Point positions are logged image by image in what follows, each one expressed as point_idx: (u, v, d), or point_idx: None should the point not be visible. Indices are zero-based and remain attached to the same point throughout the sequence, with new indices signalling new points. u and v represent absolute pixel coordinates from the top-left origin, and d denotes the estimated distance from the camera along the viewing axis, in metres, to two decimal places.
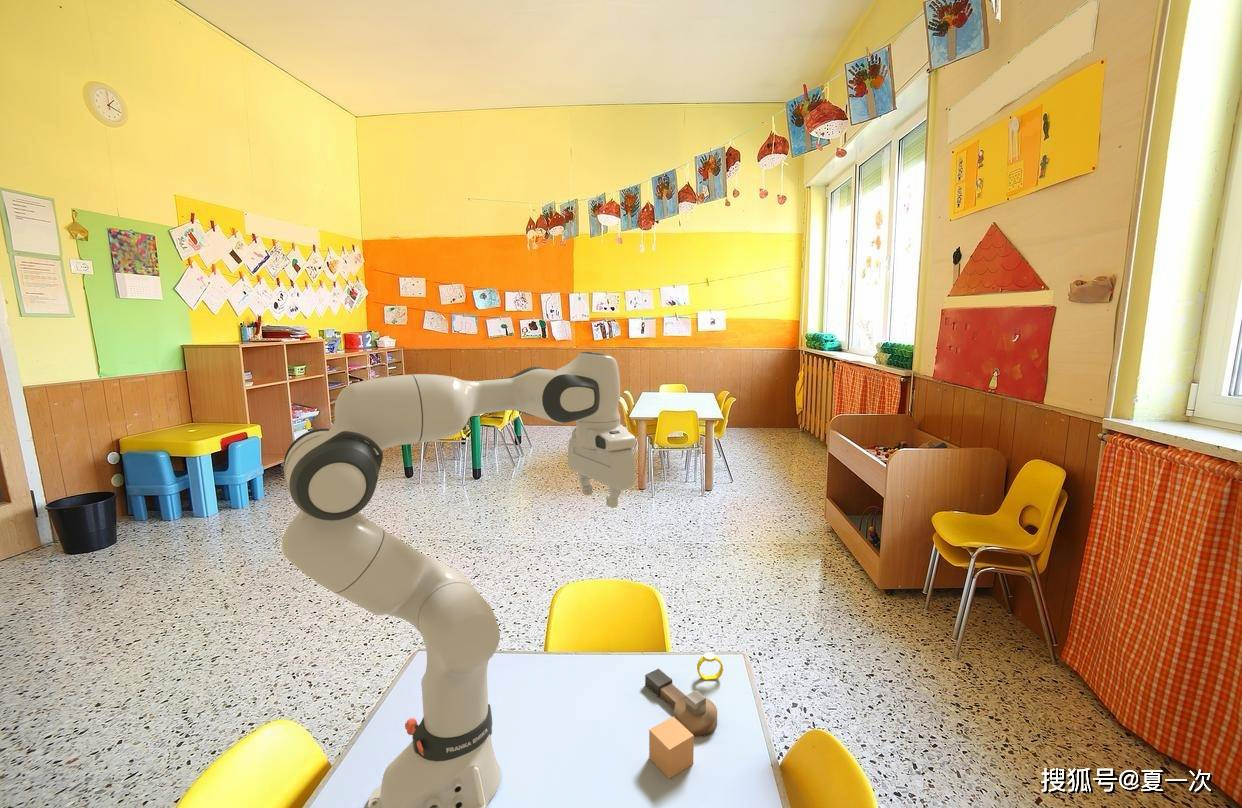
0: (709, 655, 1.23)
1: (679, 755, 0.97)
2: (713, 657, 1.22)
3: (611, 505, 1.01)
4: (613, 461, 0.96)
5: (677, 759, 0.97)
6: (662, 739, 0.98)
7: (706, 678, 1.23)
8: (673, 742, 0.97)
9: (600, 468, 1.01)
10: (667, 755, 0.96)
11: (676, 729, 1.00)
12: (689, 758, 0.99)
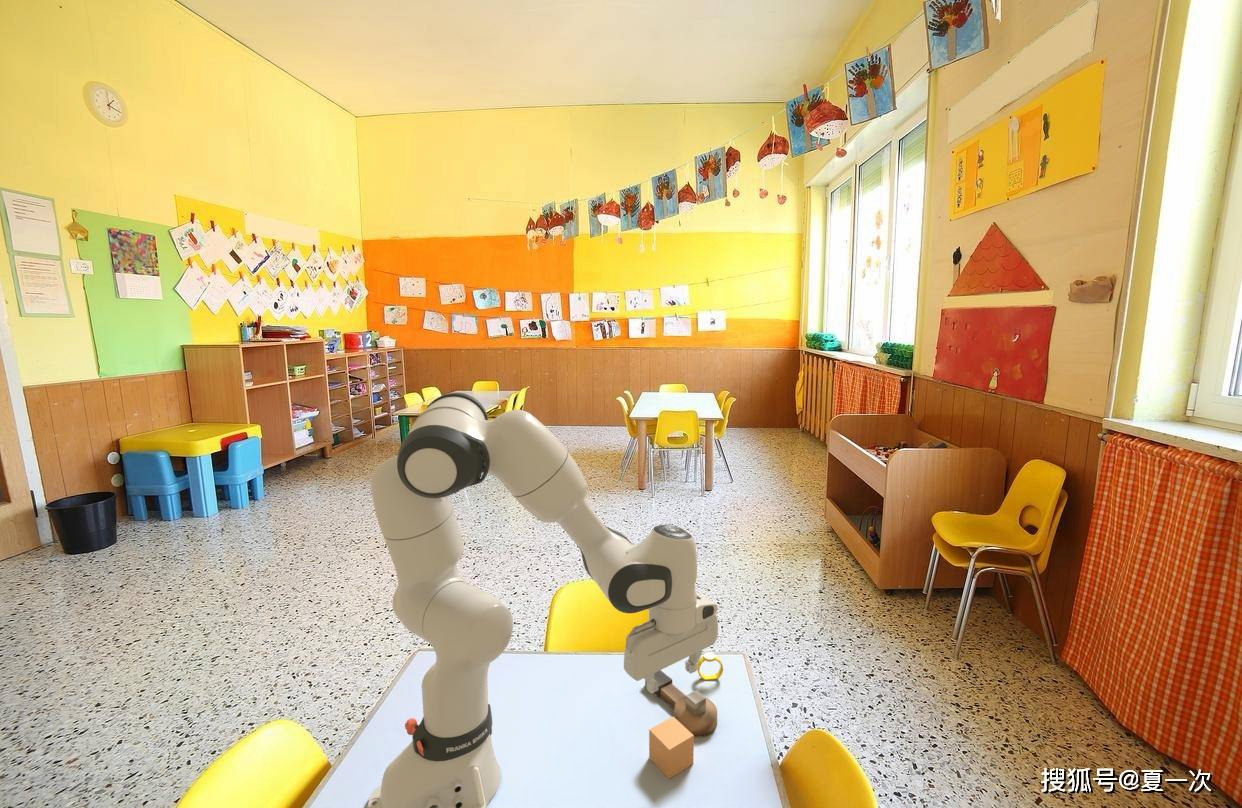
0: (709, 655, 1.23)
1: (679, 755, 0.97)
2: (713, 657, 1.22)
3: None
4: (716, 620, 0.99)
5: (677, 759, 0.97)
6: (662, 739, 0.98)
7: (706, 678, 1.23)
8: (673, 742, 0.97)
9: (693, 640, 0.97)
10: (667, 755, 0.96)
11: (676, 729, 1.00)
12: (689, 758, 0.99)
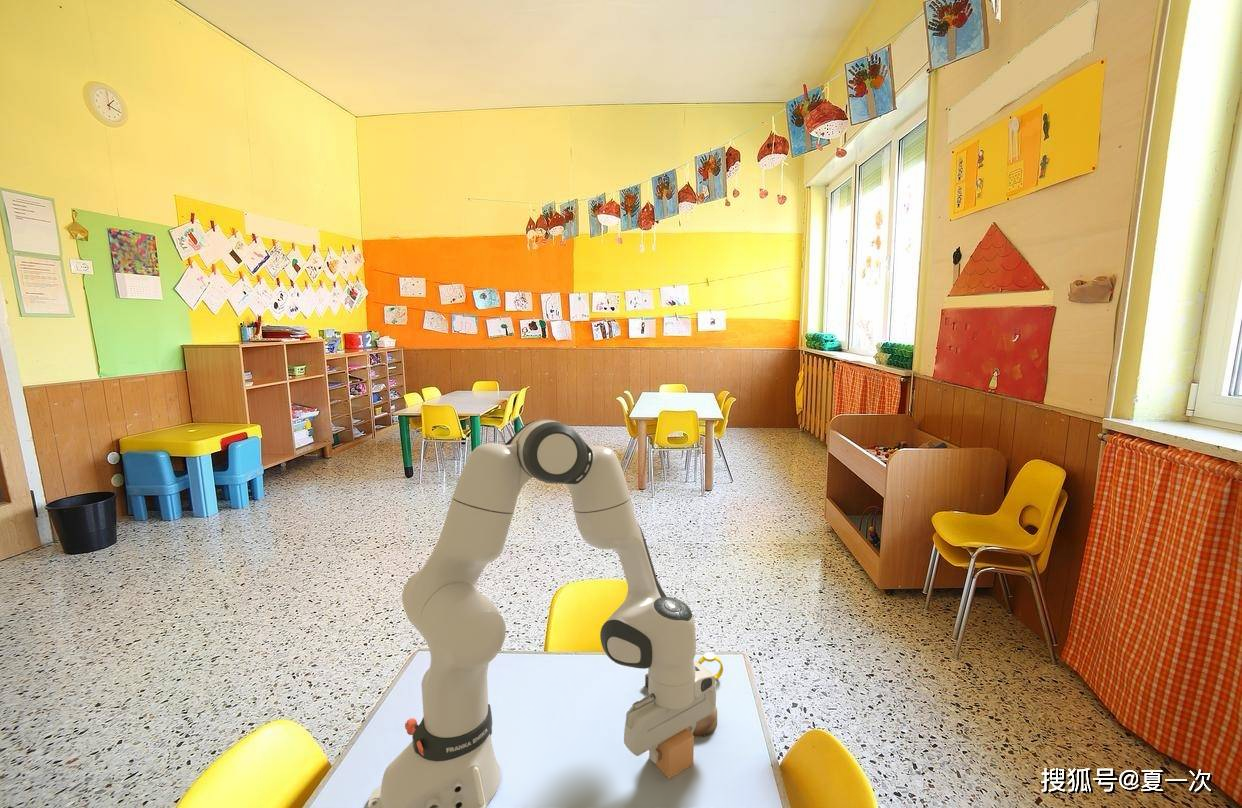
0: (709, 655, 1.23)
1: (679, 755, 0.97)
2: (713, 657, 1.22)
3: None
4: (714, 690, 1.02)
5: (677, 759, 0.97)
6: None
7: None
8: (673, 742, 0.97)
9: (691, 712, 0.99)
10: (667, 755, 0.96)
11: None
12: (689, 758, 0.99)
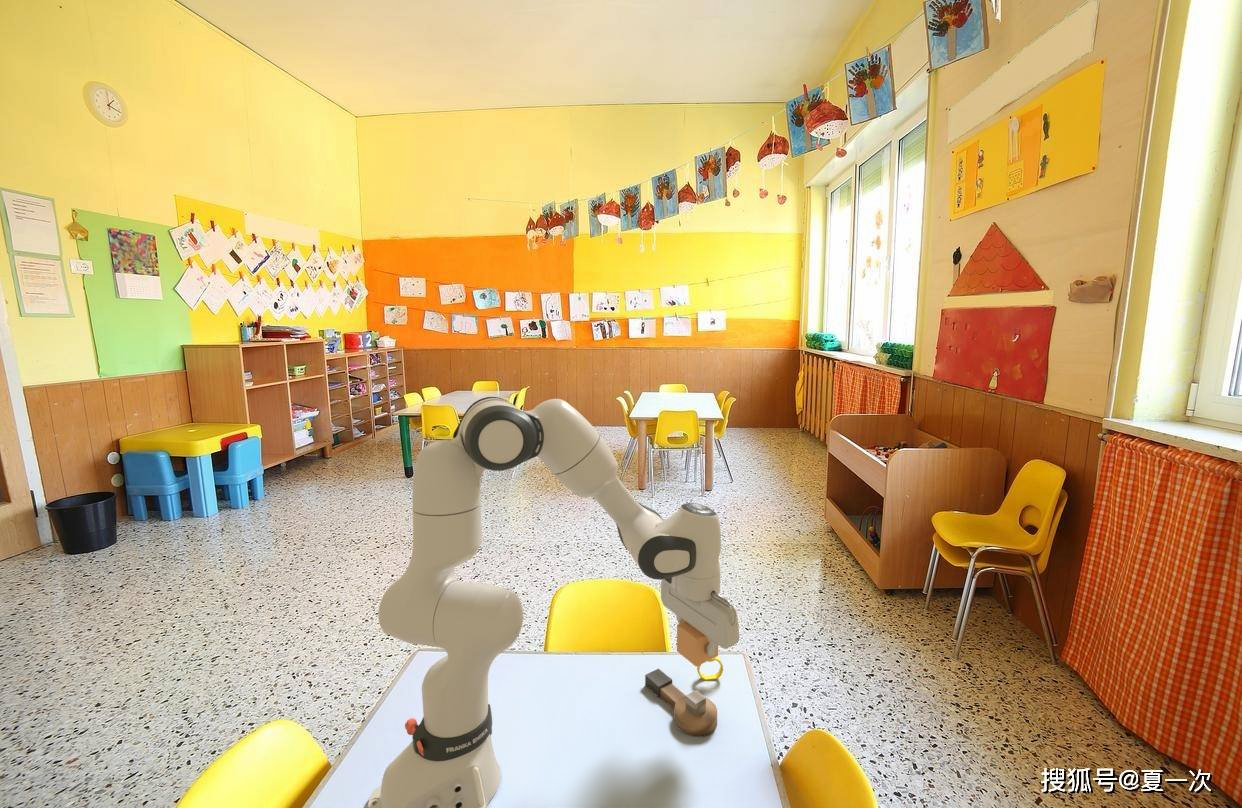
0: None
1: None
2: None
3: None
4: None
5: None
6: None
7: (706, 678, 1.23)
8: None
9: None
10: None
11: None
12: None
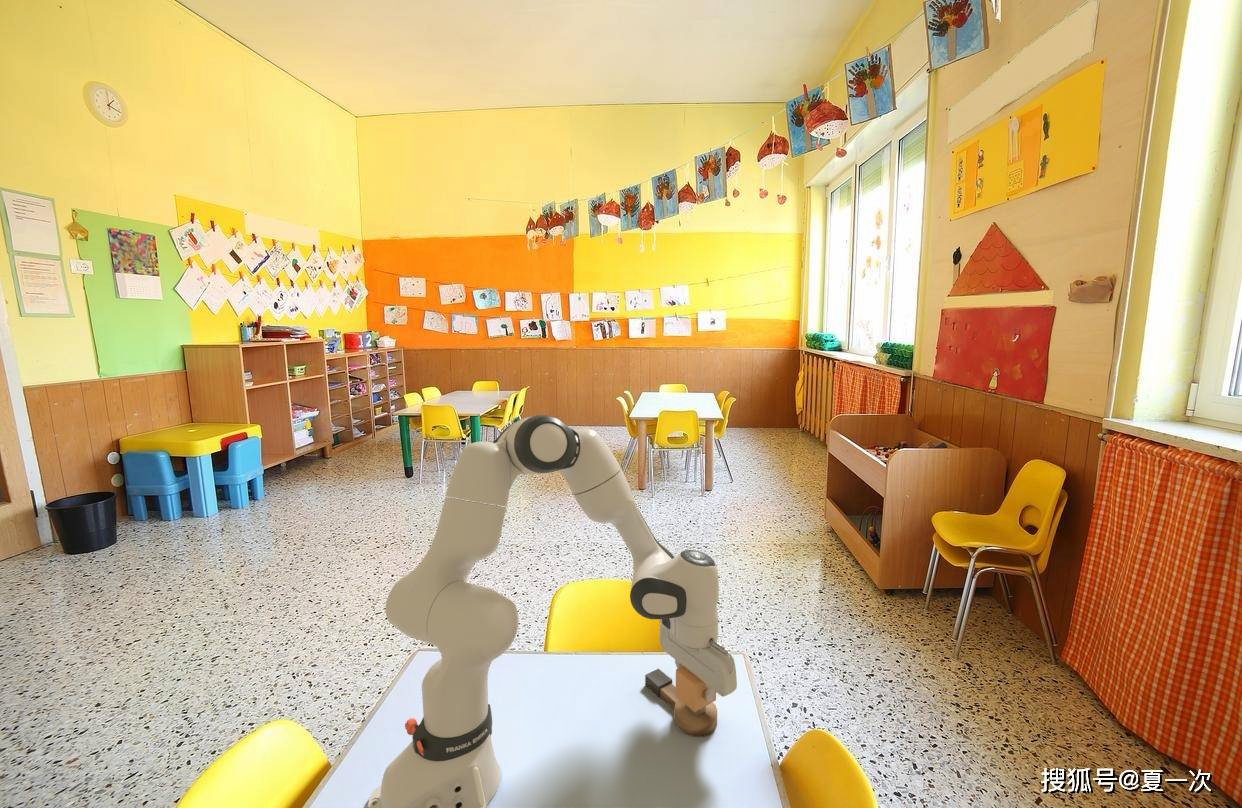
0: None
1: None
2: None
3: None
4: None
5: None
6: None
7: None
8: None
9: None
10: None
11: None
12: None
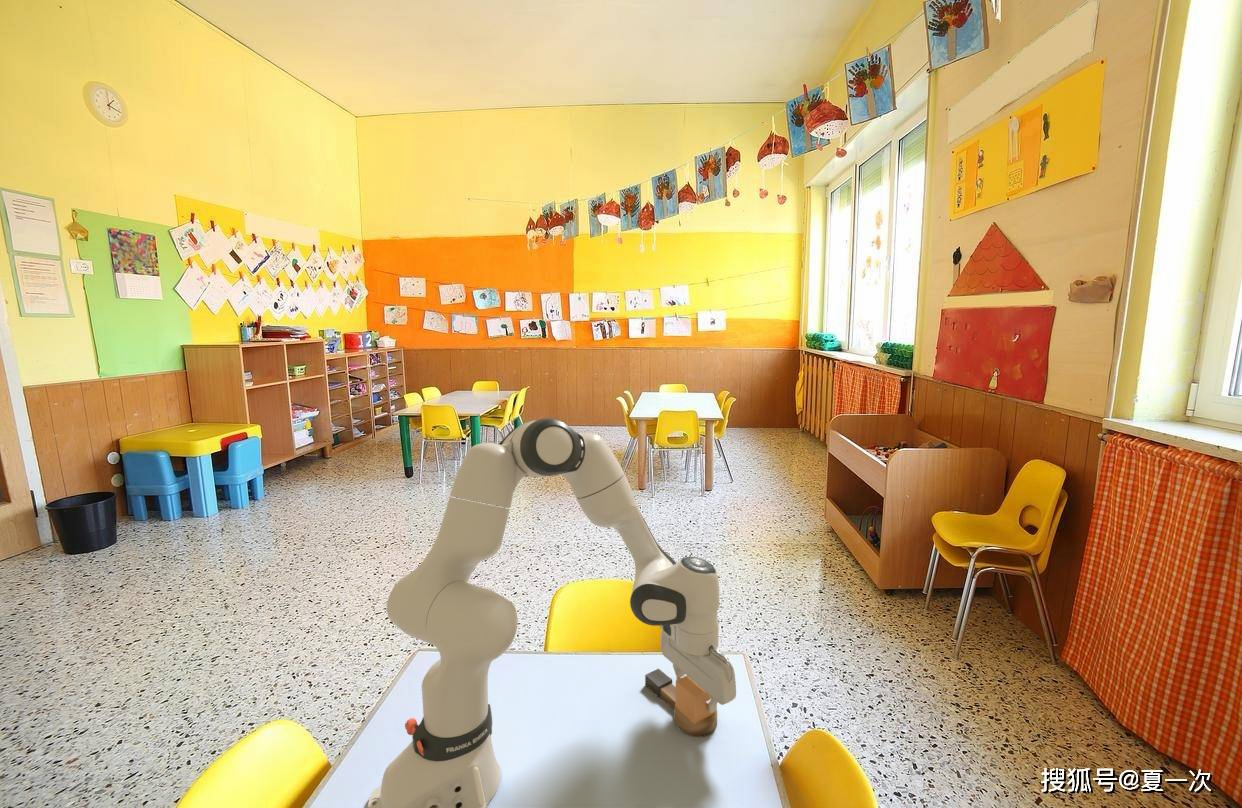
0: None
1: None
2: None
3: None
4: None
5: None
6: None
7: None
8: None
9: None
10: None
11: (691, 680, 1.10)
12: None
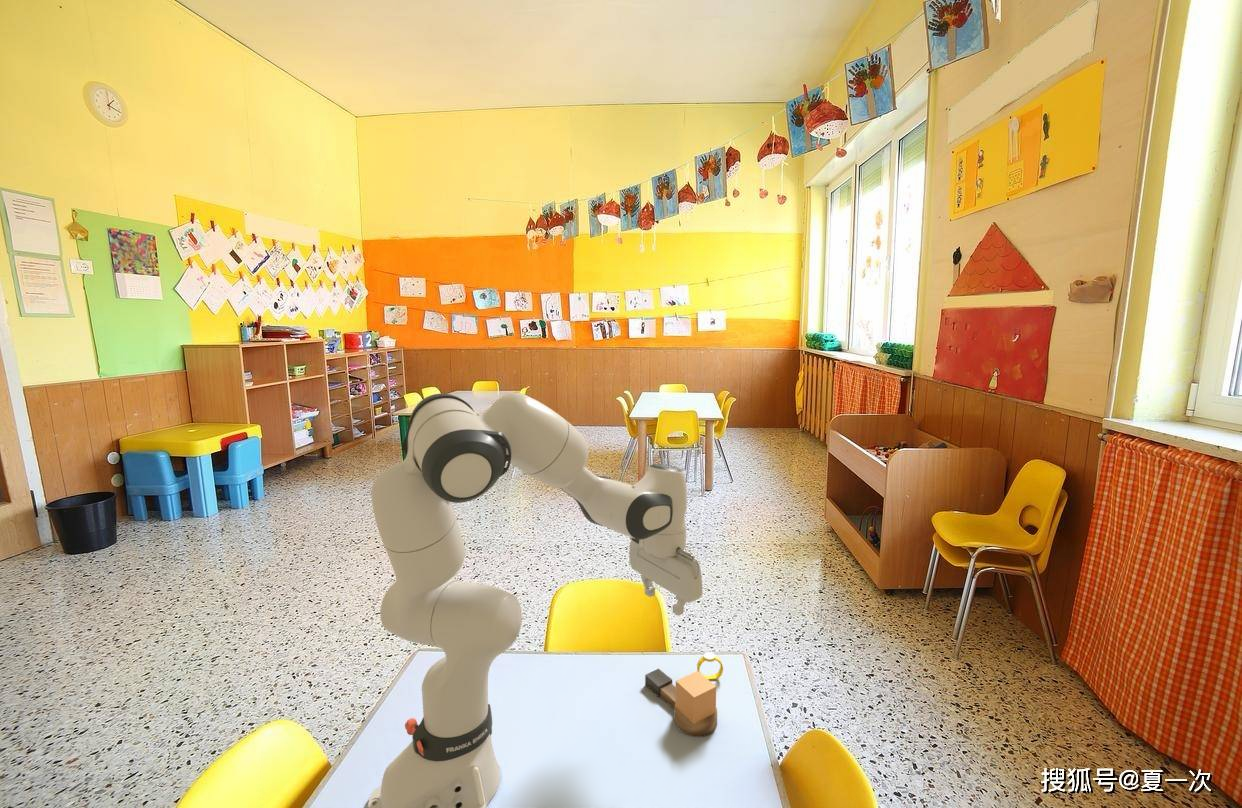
0: (709, 655, 1.23)
1: None
2: (713, 657, 1.22)
3: None
4: None
5: None
6: (705, 689, 1.07)
7: None
8: (707, 683, 1.09)
9: None
10: (714, 694, 1.08)
11: (691, 680, 1.10)
12: None
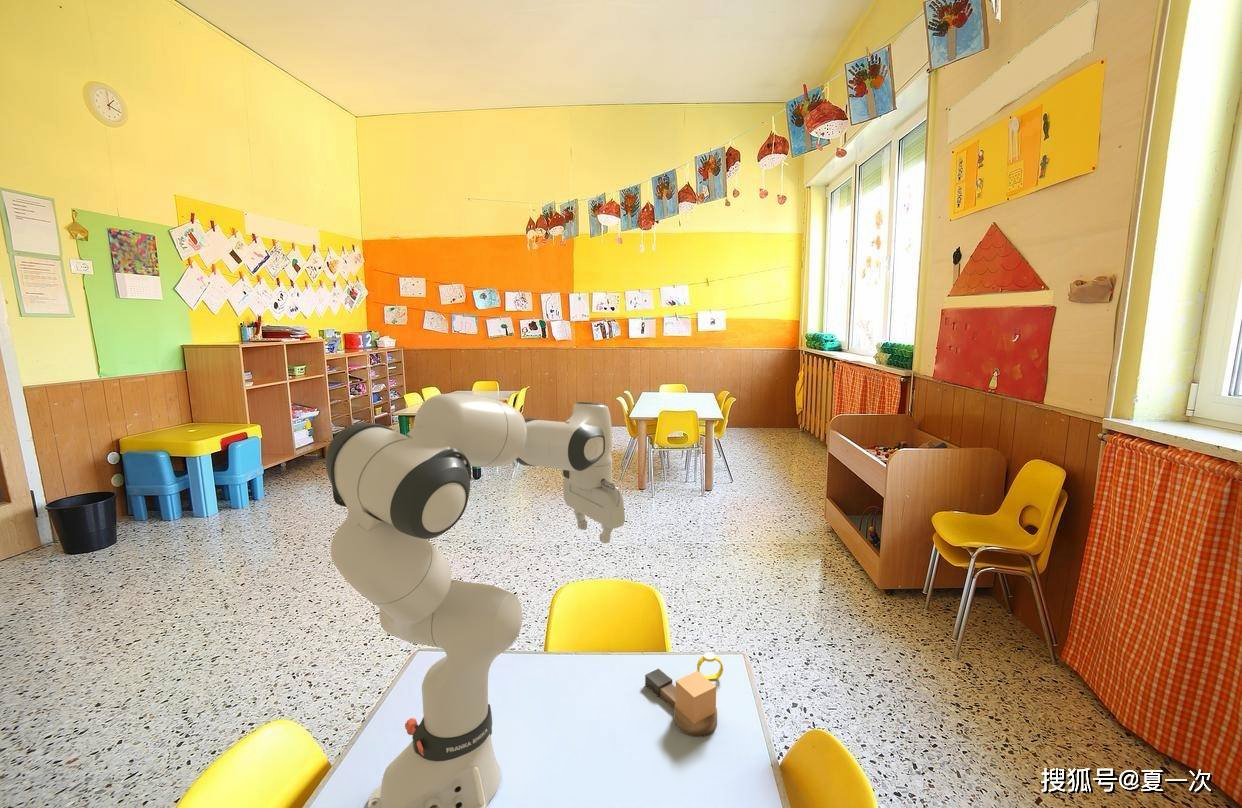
0: (709, 655, 1.23)
1: None
2: (713, 657, 1.22)
3: None
4: None
5: None
6: (705, 689, 1.07)
7: None
8: (707, 683, 1.09)
9: None
10: (714, 694, 1.08)
11: (691, 680, 1.10)
12: None
